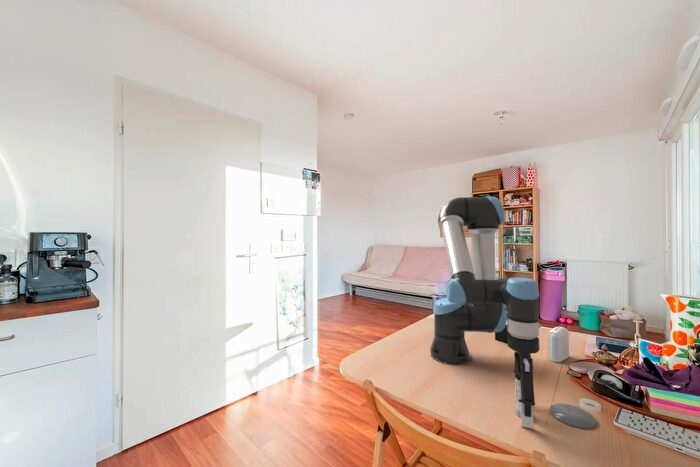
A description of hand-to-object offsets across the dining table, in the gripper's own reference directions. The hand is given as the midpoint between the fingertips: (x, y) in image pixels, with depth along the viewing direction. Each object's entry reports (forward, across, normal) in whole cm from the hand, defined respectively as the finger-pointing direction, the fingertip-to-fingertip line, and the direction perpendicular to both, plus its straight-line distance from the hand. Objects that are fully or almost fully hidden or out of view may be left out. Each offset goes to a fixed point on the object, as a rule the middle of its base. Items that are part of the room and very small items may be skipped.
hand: (523, 413), depth 81 cm
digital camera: (0, +57, -2) cm, 57 cm away
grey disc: (0, +4, -12) cm, 13 cm away
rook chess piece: (0, 0, 0) cm, 0 cm away
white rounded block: (0, +45, -18) cm, 48 cm away
